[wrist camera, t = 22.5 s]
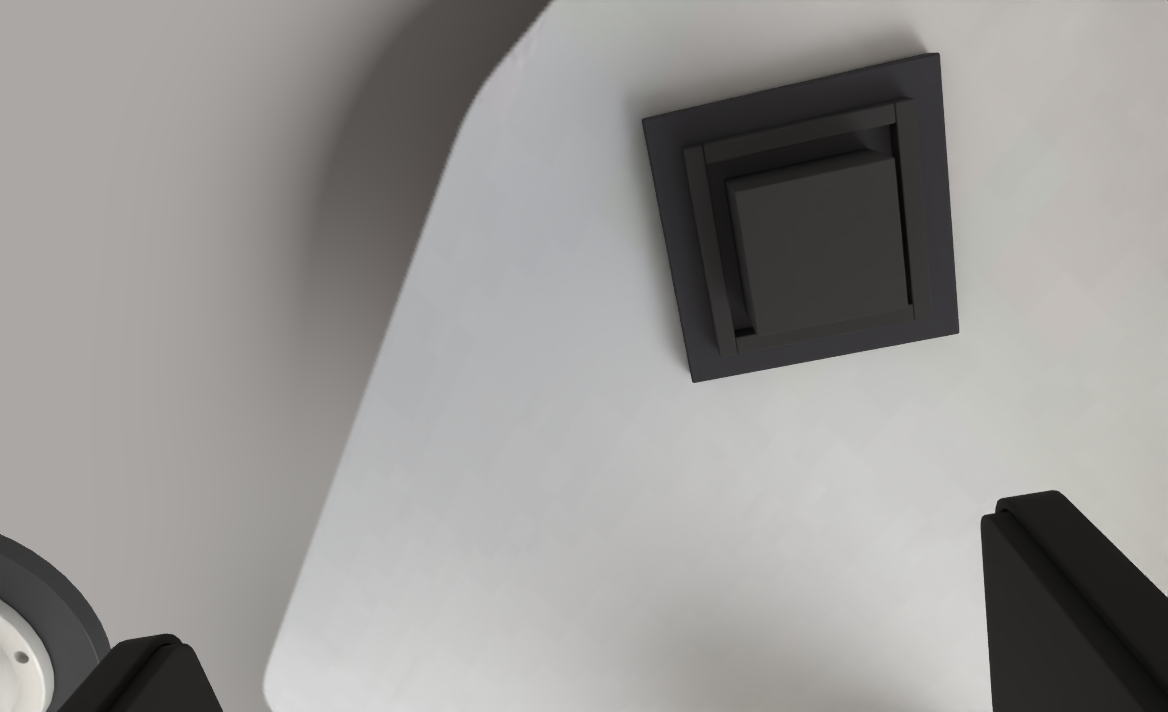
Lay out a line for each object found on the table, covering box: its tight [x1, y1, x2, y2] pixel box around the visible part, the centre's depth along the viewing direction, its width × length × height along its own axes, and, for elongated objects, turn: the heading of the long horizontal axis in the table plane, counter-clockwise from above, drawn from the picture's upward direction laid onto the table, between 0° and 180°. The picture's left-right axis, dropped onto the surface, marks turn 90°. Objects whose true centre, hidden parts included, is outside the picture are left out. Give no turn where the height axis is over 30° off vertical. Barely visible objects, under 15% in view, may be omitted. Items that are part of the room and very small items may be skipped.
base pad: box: [642, 53, 959, 383], centre depth 34 cm, size 12×12×2 cm
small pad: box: [724, 148, 908, 336], centre depth 33 cm, size 6×6×4 cm
